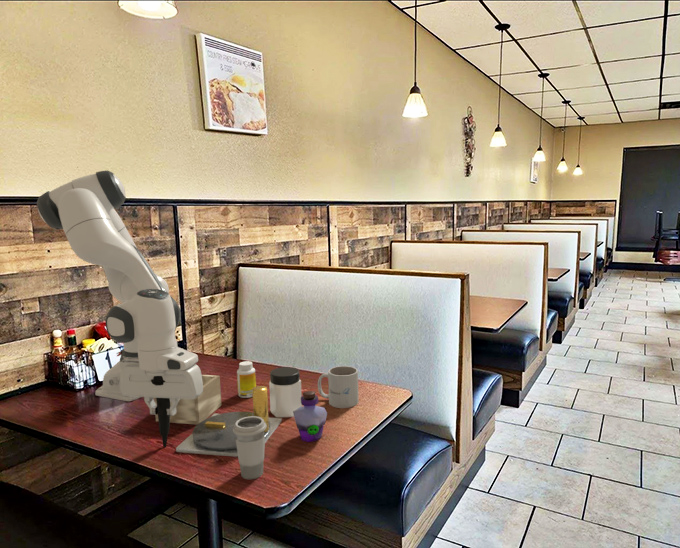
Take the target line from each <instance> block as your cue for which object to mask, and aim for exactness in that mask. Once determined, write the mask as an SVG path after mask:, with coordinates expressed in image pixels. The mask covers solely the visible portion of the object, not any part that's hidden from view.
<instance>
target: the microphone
mask: <svg viewBox="0 0 680 548" xmlns="http://www.w3.org/2000/svg"><path fill="white" fill-rule="evenodd" d="M151 382H152V384H154V385H155V386H158V385H163V383H164V382H165V381H164V380H163V377H162V376H154V378H153V379H152V380H151ZM156 400H157V411H158V421H157V422H158V430H159V435H160V437H161V442H162V447H163V448H166V447H167V444H168V435H169V433H170V423H171V422H170V415H167V408H169V407H170V398H156Z"/></svg>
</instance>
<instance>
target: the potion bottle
mask: <svg viewBox="0 0 680 548" xmlns="http://www.w3.org/2000/svg"><path fill="white" fill-rule="evenodd" d="M316 393H317V392H316V391H314V390H308V391H304V392H302V397H301V404H302V407H300V408H298V409H296V410H295V411H293V414H294V416H293V418H294V422H295V424H296V425H295V426H296V428H297V430H298V433H299V434H298V435H299V437H300V440H301V441H303V442H307V443H311V442H316V441H319V440H320V439H322V437H323V431H324V427H325V425H326V420H327V416H328V412H327V410H326V409H325V408H326V407H324V406H318V404H319V397H318V395H317V394H316Z"/></svg>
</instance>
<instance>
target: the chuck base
mask: <svg viewBox="0 0 680 548" xmlns="http://www.w3.org/2000/svg"><path fill="white" fill-rule="evenodd" d="M219 414H220V413H216V412H213V413H212V414H211V415H210V417H212V416H215V415H219ZM282 421H283V417H269V422H270V431H269V433H268V434H267V435H266V436H265V444H266V443H267V442H268V440H269V438H270V437H271V436H272V435H273V433H274V432H275V431H276V429H277V428H278V427H279V426H280V424H281V423H282ZM175 449H176V450H175V452H176V453H184V454H197V455H198V454H199V455H210V456H222V457H223V456H224V457H225V456H226V457H235V458H238V453H237V449H229V450H214V449H208V448H204V447H201V446H199V445H198V444H196V443H195V442H194V440H193V432H192V433H191V434H189V436H188V437H186V438H185V440H183V441H182V442H181V443H180V444H179V445H177V447H175Z"/></svg>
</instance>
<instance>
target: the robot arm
mask: <svg viewBox="0 0 680 548" xmlns="http://www.w3.org/2000/svg"><path fill="white" fill-rule="evenodd" d="M125 202H126V190H125V186H124V184H123V182H122V181H121V179H120V178H119V177H118V176H117V175H115V173H114V172H112V171H110V170H100V171H96V172H95V173H93V174H92V173H91V174H89V175H85V176H82V177H78V178H75V179H72V180H71V181H69V182H67V183H65V184H63V185H60V186H58V187H56V188H53V189H52V190H51V191H46V192H44V193H42V194H41V195H39V197H38V199H37V201H36V206H37V211H38V215H39V216H40V218H41V219H42V221H43V222H44V223H45V224H47V226H49V228H51V229H55V230H63V232H64V234H65V236H66V239H67V241H68V244H69V246H70V248H71V250H72V251H73V252H74V254H75V255H76V256H77V257H78V258H79V259H80V260H82V261H84V262H86V263H88V264H91V265H94V266H100V267H102V269H103V271H104V274H105V278H106V280H107V283H108V286H107V287H108V291H109V293H110V294H111V295H112V296H113V297H114V298H115V299H116V300H117V301H118V302H121V303H118V304H116V305H114V306H112V307H111V308H110V309H109V310H108V312H107V314H106V317H105V329H106V332H107V335H108V336H109V337H110V338H111V339H112V340H113V341H114V342H116V343H120V344H123V349H122V350H120V351H118V352H116V353H115V354H116V357H120V359H119V361H118V362H117V363H115V364H114V365H113V366H112V367H111V368H110V369H108V370H107V371H106V372H105V373H104V375H103V379H102V385H101V386H100V387H98V388H97V389H96V390H95V392H94V393H95V396H98V397H103V398H108V399H112V400H113V399H114V400H119V401H124V402H131V401H136V400H139V398H143V399H144V403H145V404H146V406H147V407H148V408H149V414H150V415H157V414H158V411H157V405H156V403H155V402H154V398H170V402H172V404H171V406H170V407H169V408H167V415H170V416H174V415H175V414H176V406H177V404H178V402H179V400H180V399H196V398H197V397H199V396H200V395H201V394H202V392H203V381H202V375H203V374H202V371H201V368H200V367H199V365H197V363H198V362H199V356H198V354H196V353H194V352H192V351H189V350H187V349H184V348H181V347H179V346H178V341H177V339H176V329H177V327H178V325H179V323H180V321H181V317H182V312H181V308H180V306H179V304H178V302H177V301H176V300H175V299H174V297H173V296H172V295H171V294H170V288H169V284H168V282H167V281H166V280H165V279H164V278H163V277H161V276H160V275H158V274H157V273H155V272H154V270H153V268H152V267H151V266H150V264H149V262H148V261H147V260H146V258H145V257H144V255H143V253H142V252H141V251H140V250H139V249H138V247H137V245H136V244H135V242H134V239H133V238H132V235H131V234H130V232H129V231H128V229H127V227H126V225H125V223H124V222H123V221H124V220H122V218H121V217H120V215H119V214H118V212H117V211H116V210H120V207H121V206H122V205H123V204H124V203H125ZM154 376H162V377H163V380H164V381H165V382H164V383H163V385H158V386H155V385H154V384H152V382H151V380H152V379H153V378H154Z"/></svg>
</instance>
